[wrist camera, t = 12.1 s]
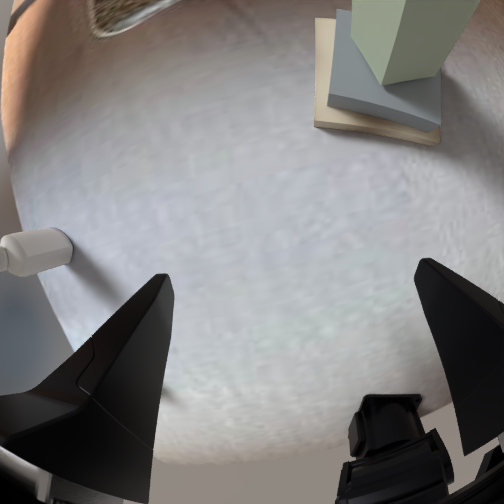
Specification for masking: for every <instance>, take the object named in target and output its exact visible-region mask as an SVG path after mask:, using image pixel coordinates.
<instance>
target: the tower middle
mask: <svg viewBox="0 0 504 504" xmlns="http://www.w3.org/2000/svg"><path fill="white" fill-rule="evenodd" d="M351 22H352V12H351V11H346V10H341V9H337V15H336V28H335V39H334V50H333V59H332V69H331V77H330V86H329V94H328V102H327V106H330V107H335V108H340V109H345V110H350V111H354V112H358V113H362V114H367V115H370V116H374V117H378V118H382V119H385V120H389V121H392V122H396V123H399V124H402V125H406V126H409V127H412V128H415V129H418V130H421V131H424V132H427V133H429V132H431V131H432V130H434V129H436V128H437V127H439V126H441V119H442V94H441V71H440V69H439V71H438V72H437V74H436V75H435V76H434V77H427V78H421V79H414V80H409V81H403V82H398V83H393V84H388V85H383V86H380V84H379V82H378V80H377V78H376V77H375V75H374V73H373V71H372V70H371V68H370V66H369V65H368V63H367V61H366V60H365V58H364V56H363V55H362V53H361V52H360V50H359V49H358V47H357V45H356V44H355V42H354V41H353V39H352V38H351Z"/></svg>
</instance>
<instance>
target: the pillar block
mask: <svg viewBox="0 0 504 504" xmlns="http://www.w3.org/2000/svg"><path fill="white" fill-rule="evenodd" d="M480 1H481V0H352V22H351V38H352V39H353V41H354V42H355V44H356V45H357V47H358V49H359V50H360V52H361V53H362V55H363V56H364V58H365V60H366V61H367V63H368V65H369V66H370V68H371V70H372V71H373V73H374V75H375V77H376V78H377V80H378V82H379V84H380V86H383V85H388V84H393V83H398V82H403V81H409V80H414V79H421V78H427V77H434V76H435V75H436V74H437V72H438V71H439V69H440V67H441V66H442V64H443V63H444V61H445V60H446V58H447V56H448V55H449V53H450V52H451V50H452V48H453V47H454V45H455V43H456V42H457V40H458V39H459V37H460V35H461V34H462V32H463V30H464V29H465V27H466V25H467V23H468V22H469V20H470V18H471V17H472V15H473V13H474V11H475V10H476V8H477V6H478V4H479V2H480Z"/></svg>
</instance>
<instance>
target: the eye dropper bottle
mask: <svg viewBox="0 0 504 504" xmlns="http://www.w3.org/2000/svg"><path fill="white" fill-rule="evenodd" d="M72 252H73V246H72V244H71V242H70V240H69V239H68V237H67V236H66V235H65V234H64V233H63V232H62V231H60V230H59V229H56V228H53V227H47V228H41V229H35V230H29V231H24V232H18V233H13V234H9V235H5V236H4V237H3V238H2V239H1V243H0V272H1V271H5V270H8V271H9V272H10V273H12V274H14V275H16V276H21V277H24V276H29V275H32V274H35V273H39V272H42V271H45V270H48V269H52V268H55V267H58V266H61V265H65V264H68V263H70V261H71V257H72Z"/></svg>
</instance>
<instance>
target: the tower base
mask: <svg viewBox="0 0 504 504" xmlns="http://www.w3.org/2000/svg"><path fill="white" fill-rule="evenodd" d="M315 27H316V71H315V109H314V127H323V128H332V129H340V130H348V131H356V132H362V133H369V134H375V135H381V136H386V137H392V138H397V139H402V140H407V141H411V142H416V143H420V144H424V145H429V146H434V145H436V144H438V143H440V142H441V136H440V126H439V127H437V128H436V129H434V130H432V131H431V132H429V133H427V132H424V131H421V130H418V129H415V128H412V127H409V126H406V125H402V124H399V123H396V122H392V121H389V120H385V119H382V118H378V117H374V116H370V115H367V114H362V113H358V112H354V111H350V110H345V109H340V108H335V107H330V106H327V102H328V94H329V86H330V77H331V69H332V59H333V50H334V39H335V28H336V20H335V19H324V18H315Z"/></svg>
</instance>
